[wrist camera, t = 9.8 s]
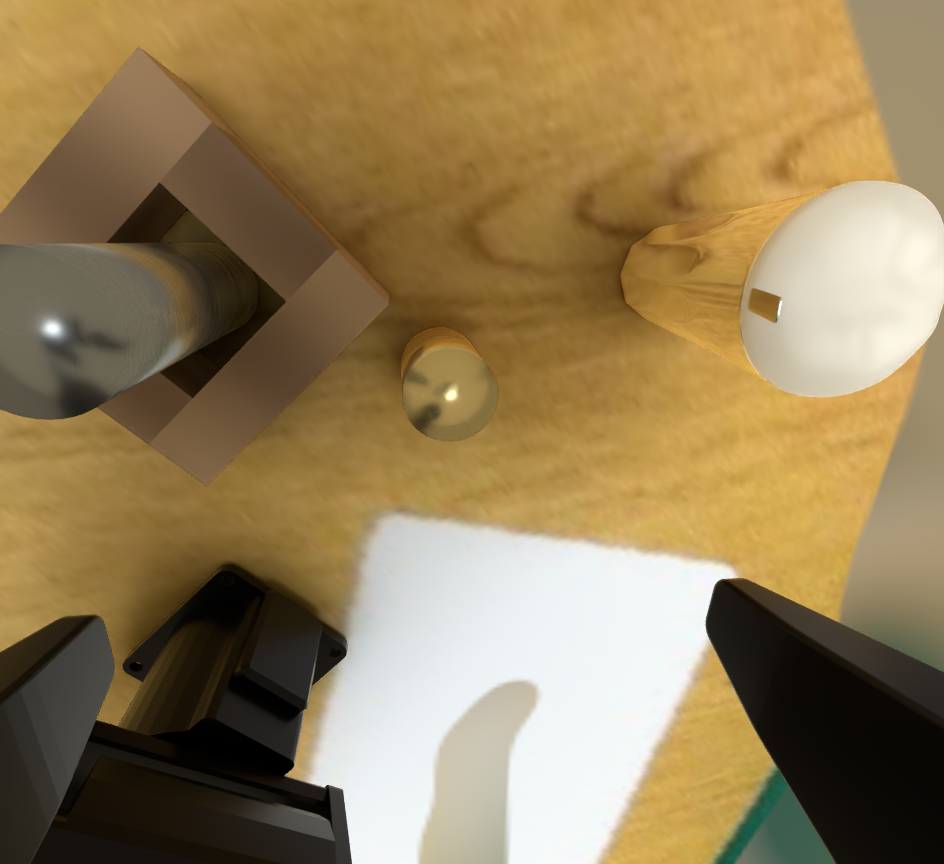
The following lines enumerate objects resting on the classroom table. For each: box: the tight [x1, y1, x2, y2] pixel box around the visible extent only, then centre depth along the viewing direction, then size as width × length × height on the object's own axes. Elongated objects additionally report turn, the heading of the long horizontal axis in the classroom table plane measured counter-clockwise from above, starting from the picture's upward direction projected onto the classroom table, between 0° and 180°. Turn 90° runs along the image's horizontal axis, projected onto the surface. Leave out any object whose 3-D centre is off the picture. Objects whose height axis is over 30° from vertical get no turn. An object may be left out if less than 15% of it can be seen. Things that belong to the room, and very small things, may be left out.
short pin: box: [401, 327, 498, 441], centre depth 17 cm, size 3×3×4 cm
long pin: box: [0, 242, 259, 420], centre depth 12 cm, size 3×3×9 cm
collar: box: [0, 47, 390, 486], centre depth 15 cm, size 8×8×3 cm
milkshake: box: [620, 181, 944, 397], centre depth 14 cm, size 4×5×10 cm
